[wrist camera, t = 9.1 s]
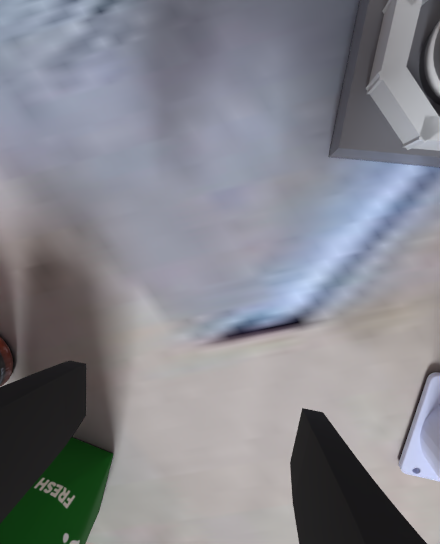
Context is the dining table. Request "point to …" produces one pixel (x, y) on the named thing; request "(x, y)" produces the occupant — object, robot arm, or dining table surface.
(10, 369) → the supplement bottle
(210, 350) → the dining table surface
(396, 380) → the dining table surface
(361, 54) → the grey base plate
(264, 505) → the dining table surface
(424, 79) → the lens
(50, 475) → the milk carton
